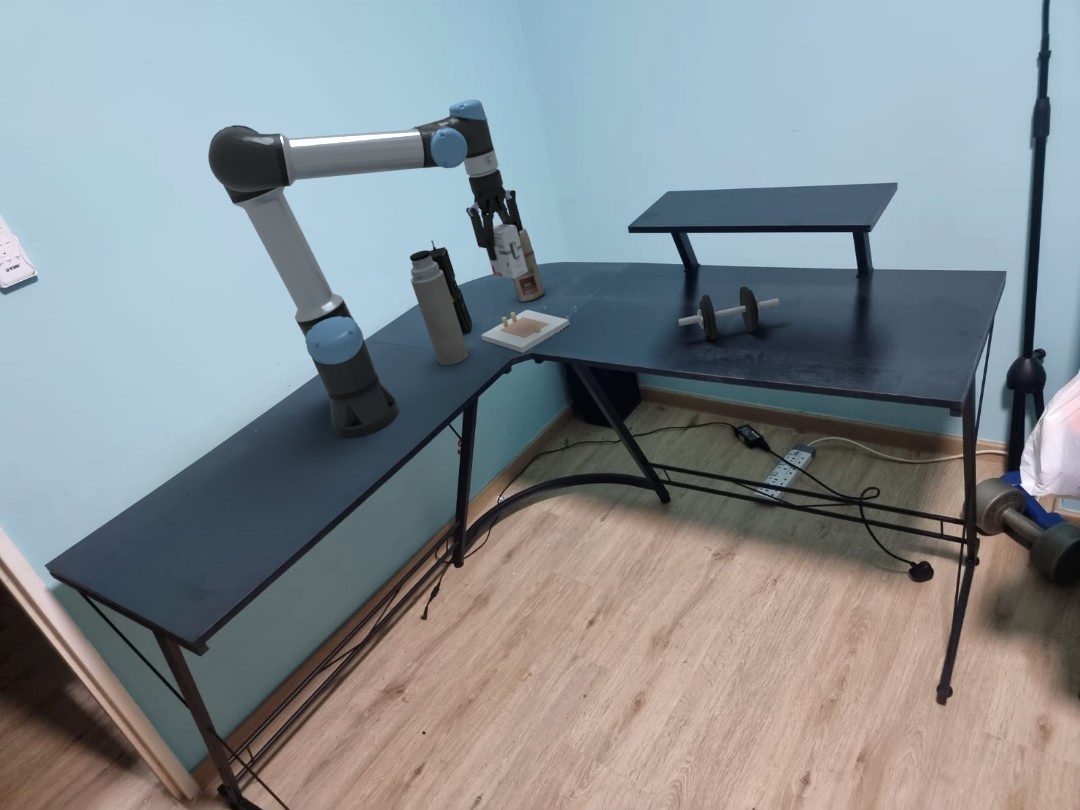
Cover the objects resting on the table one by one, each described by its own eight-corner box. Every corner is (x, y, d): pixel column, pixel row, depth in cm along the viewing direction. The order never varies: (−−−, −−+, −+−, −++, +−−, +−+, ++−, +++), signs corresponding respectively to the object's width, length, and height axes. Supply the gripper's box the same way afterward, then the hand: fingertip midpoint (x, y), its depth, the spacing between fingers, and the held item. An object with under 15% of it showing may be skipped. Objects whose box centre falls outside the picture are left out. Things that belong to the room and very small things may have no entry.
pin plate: (523, 352, 173) (519, 338, 171) (482, 340, 186) (478, 326, 184) (569, 325, 181) (566, 310, 179) (528, 314, 193) (524, 301, 191)
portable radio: (470, 334, 191) (443, 246, 178) (448, 339, 191) (420, 251, 179) (473, 322, 197) (447, 236, 185) (452, 327, 198) (425, 241, 186)
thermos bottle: (451, 348, 185) (418, 247, 172) (474, 351, 181) (442, 246, 167) (432, 363, 180) (396, 259, 166) (455, 366, 175) (420, 259, 162)
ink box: (491, 275, 177) (479, 229, 171) (507, 268, 180) (495, 222, 174) (513, 279, 171) (502, 231, 165) (529, 271, 173) (518, 224, 168)
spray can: (512, 303, 203) (494, 237, 193) (521, 292, 209) (504, 226, 200) (540, 301, 200) (523, 232, 190) (548, 289, 206) (532, 222, 197)
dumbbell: (773, 314, 160) (770, 273, 156) (786, 332, 152) (783, 289, 147) (678, 334, 163) (672, 294, 158) (686, 353, 154) (680, 311, 149)
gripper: (461, 185, 156) (489, 283, 167) (522, 160, 165) (545, 254, 176) (443, 184, 161) (471, 279, 173) (503, 160, 170) (526, 251, 181)
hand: (508, 266), depth 174 cm, fingers closed on ink box, 5 cm apart
